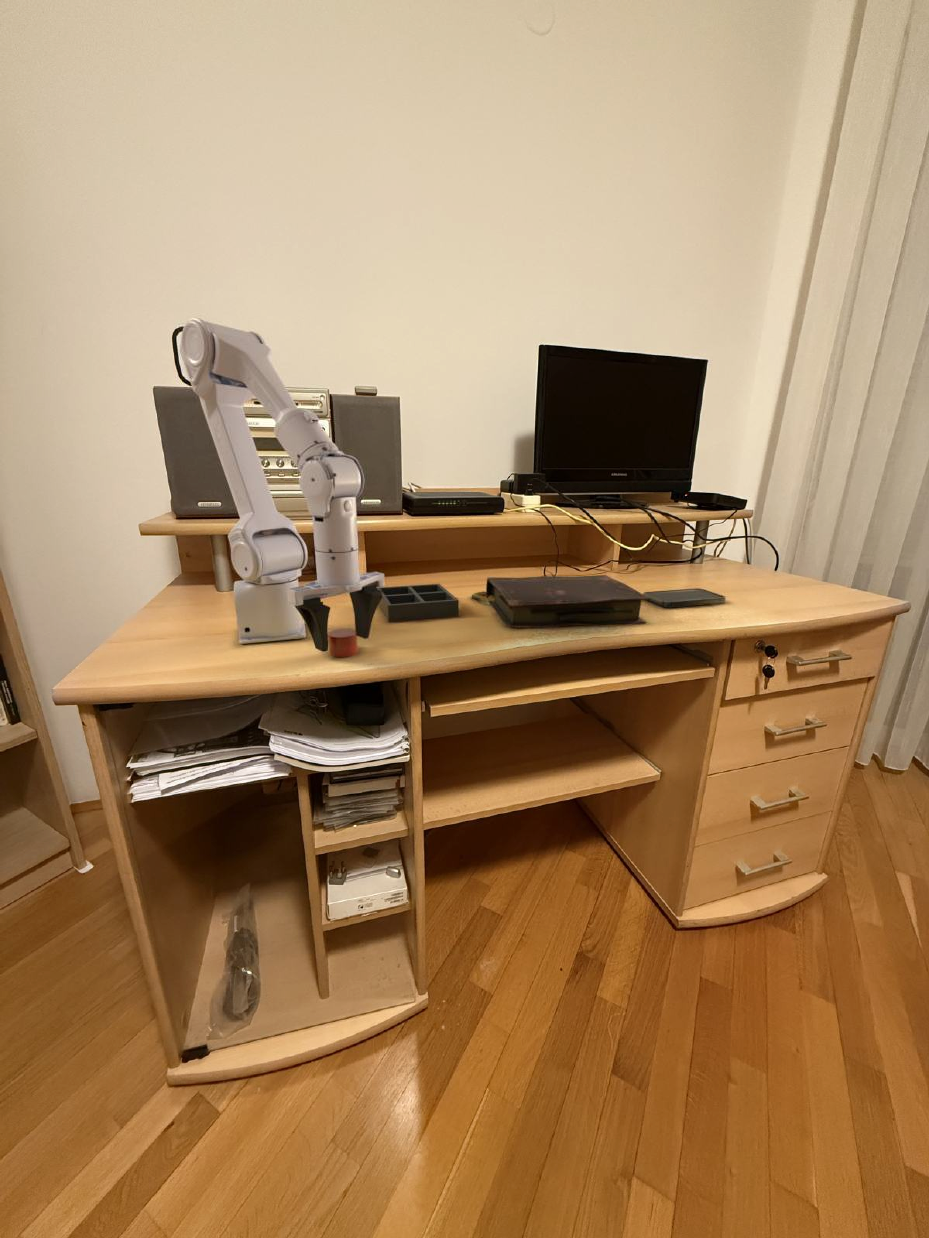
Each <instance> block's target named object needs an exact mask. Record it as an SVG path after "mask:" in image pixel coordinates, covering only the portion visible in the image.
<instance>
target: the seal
mask: <svg viewBox="0 0 929 1238" xmlns="http://www.w3.org/2000/svg"><path fill="white" fill-rule="evenodd" d="M471 599H472V600H475V601H476V602H478V603H480V604H482V605H485V606H491V604H490V603H489V601H494V597H493V595H490V596H489V597H488V598H487V597H486V591H478V592H474V593H473V594H471ZM491 607H492V606H491Z"/></svg>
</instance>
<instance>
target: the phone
mask: <svg viewBox="0 0 929 1238" xmlns="http://www.w3.org/2000/svg"><path fill="white" fill-rule="evenodd" d="M642 594H643V595H645V596H646V597H648V598H649V599H650V600H647V601H648V602H651V603H653V604H655V605H657V606H660V607H662V608H681V607H693V606H705V605H717V604H725V603H726V599H727V596H725V595H722V594H719V593H716V592H713V591H710V590H707V589H704V588H697V587H696V588H681V589H667V590H655V591H654V590H653V591H643V593H642Z"/></svg>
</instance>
